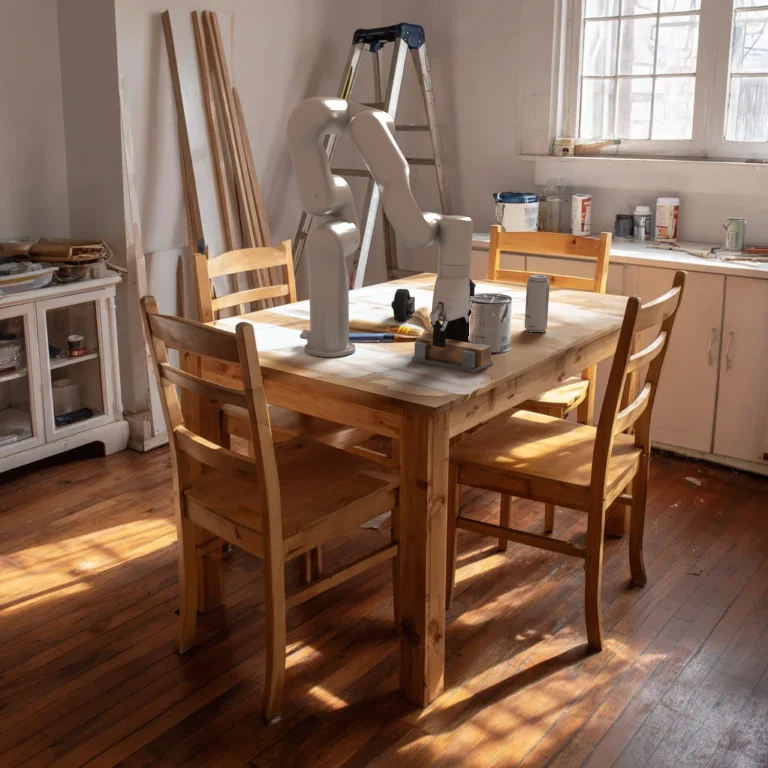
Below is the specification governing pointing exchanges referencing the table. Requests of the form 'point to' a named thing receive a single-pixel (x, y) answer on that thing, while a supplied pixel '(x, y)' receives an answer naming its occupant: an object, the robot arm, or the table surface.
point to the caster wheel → (403, 305)
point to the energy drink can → (537, 303)
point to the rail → (456, 350)
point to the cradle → (466, 365)
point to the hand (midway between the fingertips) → (449, 342)
